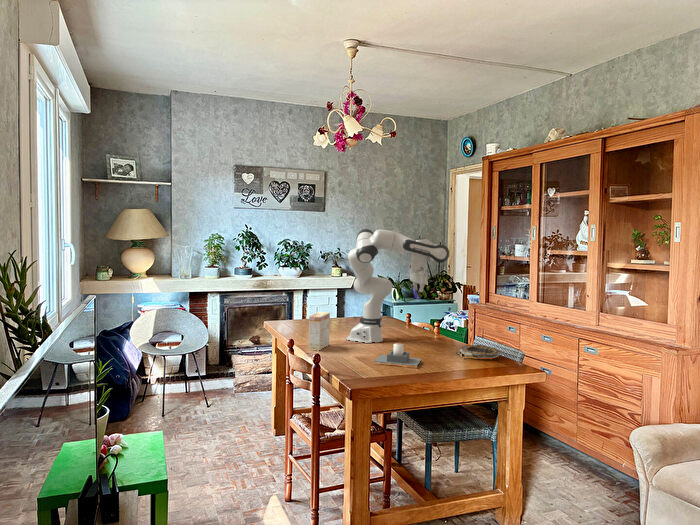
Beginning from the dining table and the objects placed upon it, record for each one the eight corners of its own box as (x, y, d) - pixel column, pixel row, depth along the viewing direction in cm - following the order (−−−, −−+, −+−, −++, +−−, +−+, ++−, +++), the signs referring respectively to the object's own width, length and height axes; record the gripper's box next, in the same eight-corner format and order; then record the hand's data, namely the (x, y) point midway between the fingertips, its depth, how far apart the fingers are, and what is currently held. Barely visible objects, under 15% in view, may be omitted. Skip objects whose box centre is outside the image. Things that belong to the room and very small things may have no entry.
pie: (476, 348, 303) (477, 340, 303) (517, 359, 282) (517, 350, 282) (444, 355, 286) (445, 346, 286) (485, 367, 265) (486, 358, 264)
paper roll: (391, 360, 266) (391, 344, 265) (396, 358, 270) (397, 342, 269) (399, 361, 263) (400, 346, 262) (405, 359, 267) (405, 344, 266)
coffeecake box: (318, 344, 303) (319, 311, 302) (329, 345, 301) (330, 312, 299) (308, 349, 289) (308, 315, 288) (319, 351, 287) (320, 316, 285)
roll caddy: (374, 364, 263) (374, 354, 263) (380, 357, 276) (380, 348, 276) (417, 368, 257) (417, 358, 256) (421, 361, 270) (421, 352, 270)
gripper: (430, 268, 283) (430, 293, 284) (418, 265, 303) (417, 288, 304) (419, 268, 282) (419, 293, 283) (408, 265, 302) (407, 288, 303)
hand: (418, 290), depth 294 cm, fingers open, 8 cm apart
